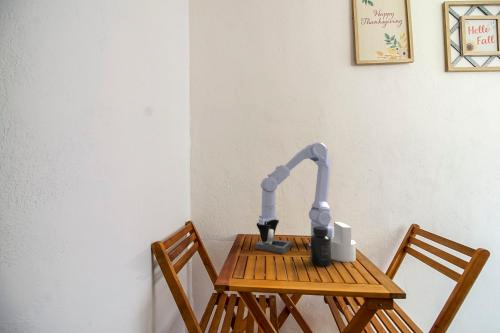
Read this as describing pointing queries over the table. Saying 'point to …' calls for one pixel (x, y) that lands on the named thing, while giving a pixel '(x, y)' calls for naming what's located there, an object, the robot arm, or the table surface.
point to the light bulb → (270, 236)
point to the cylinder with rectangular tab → (343, 243)
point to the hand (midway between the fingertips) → (267, 238)
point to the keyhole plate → (274, 246)
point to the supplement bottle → (320, 247)
